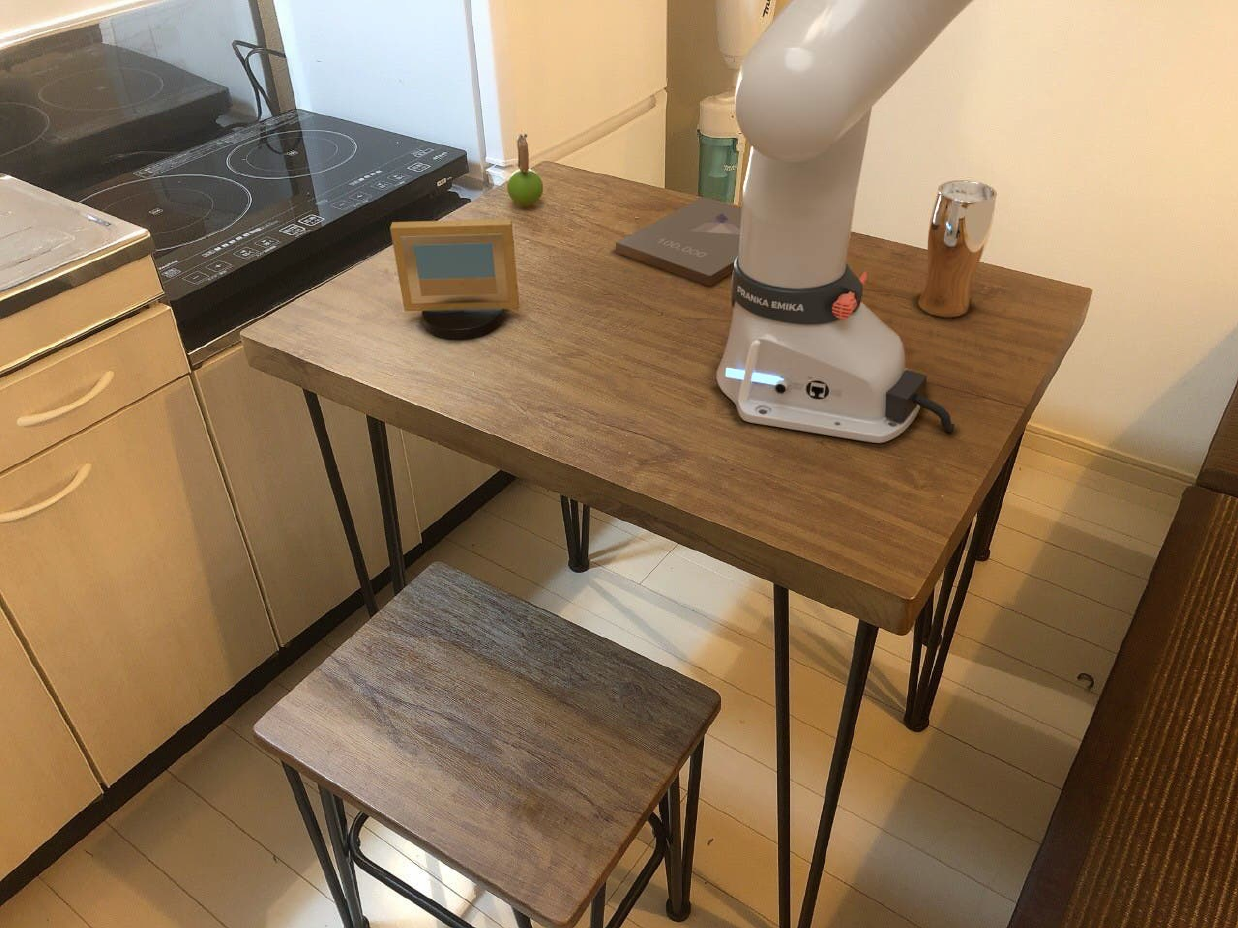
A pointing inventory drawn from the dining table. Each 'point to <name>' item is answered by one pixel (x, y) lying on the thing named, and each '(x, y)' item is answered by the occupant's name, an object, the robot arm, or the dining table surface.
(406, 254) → the picture frame
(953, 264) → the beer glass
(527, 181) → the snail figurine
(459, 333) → the frame stand
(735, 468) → the dining table surface
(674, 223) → the play button award
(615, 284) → the dining table surface
